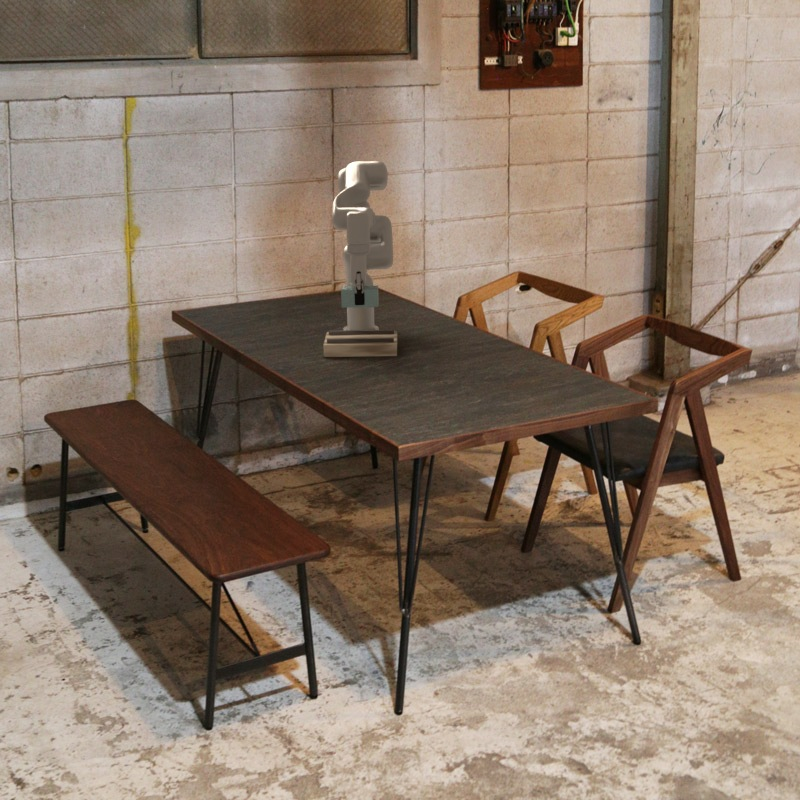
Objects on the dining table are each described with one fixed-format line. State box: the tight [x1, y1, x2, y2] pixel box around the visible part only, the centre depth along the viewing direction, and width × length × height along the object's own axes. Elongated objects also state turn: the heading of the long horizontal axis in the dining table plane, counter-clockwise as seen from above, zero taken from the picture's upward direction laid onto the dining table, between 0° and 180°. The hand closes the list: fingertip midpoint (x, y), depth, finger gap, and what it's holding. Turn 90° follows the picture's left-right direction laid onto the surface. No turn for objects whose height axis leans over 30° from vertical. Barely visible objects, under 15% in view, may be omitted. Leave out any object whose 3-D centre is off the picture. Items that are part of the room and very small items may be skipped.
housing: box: [340, 285, 379, 309], centre depth 426 cm, size 12×6×6 cm, turn 90°
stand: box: [323, 329, 398, 358], centre depth 431 cm, size 18×24×5 cm
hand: (360, 302), depth 427 cm, fingers closed on housing, 6 cm apart
